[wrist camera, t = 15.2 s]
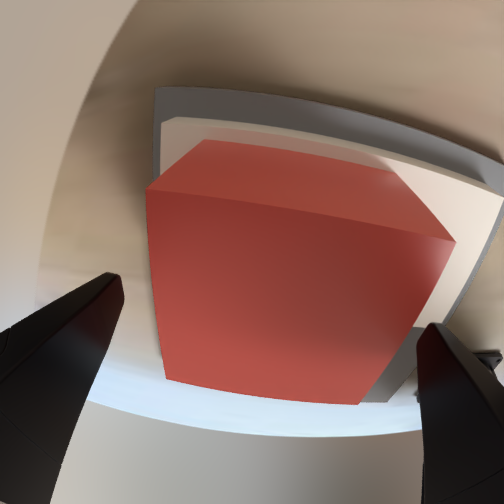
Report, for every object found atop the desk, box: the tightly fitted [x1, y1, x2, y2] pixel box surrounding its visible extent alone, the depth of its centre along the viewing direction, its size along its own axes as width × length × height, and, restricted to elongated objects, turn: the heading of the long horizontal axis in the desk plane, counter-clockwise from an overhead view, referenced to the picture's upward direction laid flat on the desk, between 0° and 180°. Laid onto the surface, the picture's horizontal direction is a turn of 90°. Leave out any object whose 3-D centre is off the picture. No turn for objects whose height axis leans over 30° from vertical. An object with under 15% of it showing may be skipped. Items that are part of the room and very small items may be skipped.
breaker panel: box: [153, 86, 504, 402], centre depth 15 cm, size 17×19×3 cm
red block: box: [146, 139, 457, 405], centre depth 10 cm, size 7×7×5 cm
